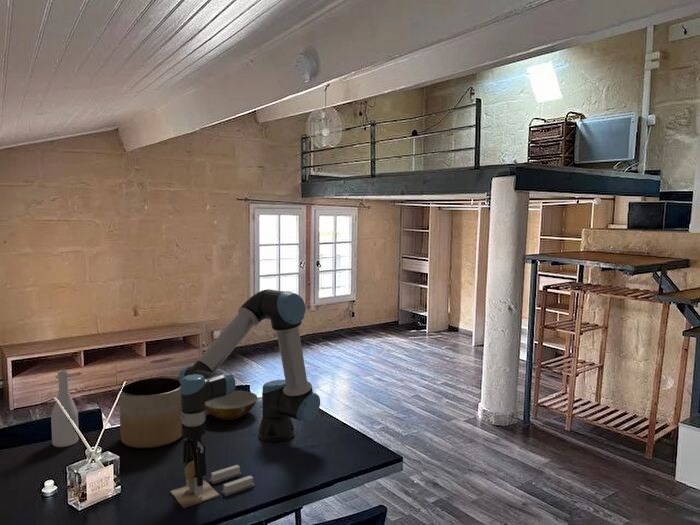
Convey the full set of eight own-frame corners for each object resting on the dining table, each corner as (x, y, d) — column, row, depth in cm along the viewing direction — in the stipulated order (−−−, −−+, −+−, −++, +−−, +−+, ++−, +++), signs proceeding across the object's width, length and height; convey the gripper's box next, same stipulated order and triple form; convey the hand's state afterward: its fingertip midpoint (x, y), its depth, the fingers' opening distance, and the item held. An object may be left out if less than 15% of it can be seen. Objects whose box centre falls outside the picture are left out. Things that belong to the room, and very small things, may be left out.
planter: (198, 432, 225) (197, 382, 223) (151, 456, 202) (149, 400, 200) (155, 421, 236) (154, 373, 234) (106, 442, 214) (105, 389, 212)
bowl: (268, 415, 244) (268, 398, 244) (221, 431, 226) (221, 413, 225) (237, 402, 262) (237, 386, 261) (191, 415, 243) (191, 398, 243)
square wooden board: (170, 492, 176) (170, 490, 176) (204, 481, 183) (204, 479, 183) (183, 508, 166) (183, 506, 166) (219, 496, 174) (219, 494, 174)
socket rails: (209, 480, 184) (209, 472, 183) (237, 471, 190) (237, 463, 190) (225, 496, 174) (225, 487, 173) (254, 486, 180) (254, 477, 180)
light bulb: (183, 488, 176) (182, 459, 175) (202, 483, 179) (202, 455, 178) (186, 497, 170) (186, 467, 169) (206, 492, 173) (206, 463, 172)
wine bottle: (46, 445, 211) (43, 372, 208) (67, 436, 219) (64, 366, 217) (63, 449, 207) (60, 375, 204) (84, 440, 216) (81, 368, 213)
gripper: (171, 416, 178) (173, 481, 180) (193, 435, 163) (195, 506, 165) (193, 411, 182) (194, 475, 184) (216, 429, 167) (217, 498, 169)
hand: (194, 489), depth 175 cm, fingers closed on light bulb, 6 cm apart
